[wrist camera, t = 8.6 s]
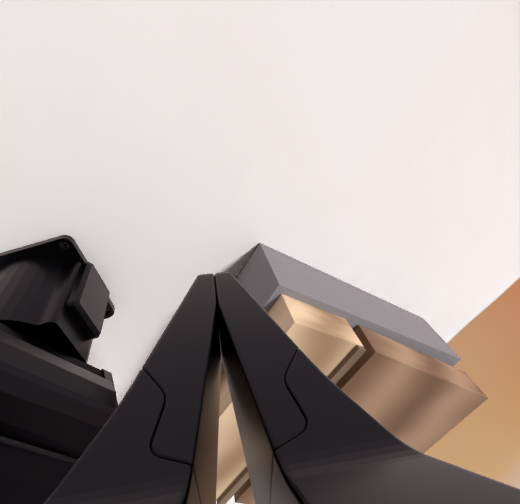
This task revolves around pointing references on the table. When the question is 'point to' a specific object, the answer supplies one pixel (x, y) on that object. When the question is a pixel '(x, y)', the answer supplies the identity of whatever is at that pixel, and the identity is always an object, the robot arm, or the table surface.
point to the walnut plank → (403, 394)
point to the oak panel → (315, 348)
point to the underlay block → (337, 301)
